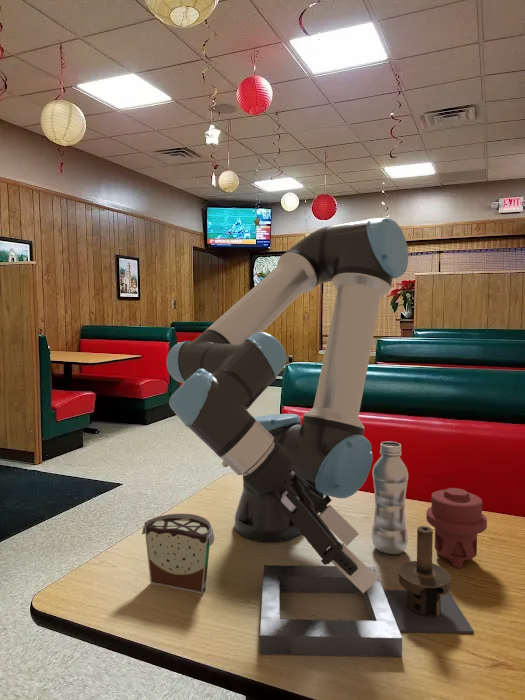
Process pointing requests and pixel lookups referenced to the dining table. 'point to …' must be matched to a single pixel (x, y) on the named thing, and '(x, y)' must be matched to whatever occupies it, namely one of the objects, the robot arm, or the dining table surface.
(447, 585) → the industrial component
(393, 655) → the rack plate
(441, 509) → the mechanical component
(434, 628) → the rubber mat
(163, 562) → the food container
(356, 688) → the dining table surface
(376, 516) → the plastic bottle
